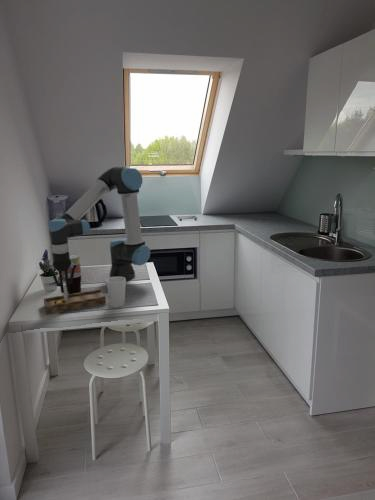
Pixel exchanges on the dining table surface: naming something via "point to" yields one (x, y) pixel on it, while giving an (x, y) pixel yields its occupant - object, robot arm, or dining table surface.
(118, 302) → the foam cup
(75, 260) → the canned food
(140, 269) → the dining table surface
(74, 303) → the tray
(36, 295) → the dining table surface
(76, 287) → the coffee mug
